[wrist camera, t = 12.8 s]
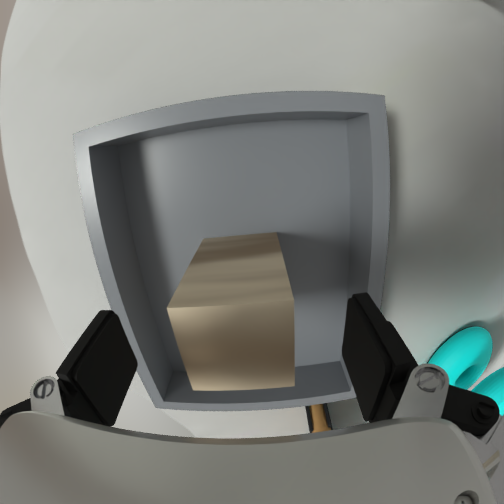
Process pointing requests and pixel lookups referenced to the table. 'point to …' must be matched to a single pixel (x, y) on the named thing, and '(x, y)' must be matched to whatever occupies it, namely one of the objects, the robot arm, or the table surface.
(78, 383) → the robot arm
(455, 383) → the donuts
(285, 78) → the table surface
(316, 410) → the ammunition clip
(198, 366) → the birch block
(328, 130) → the tray
